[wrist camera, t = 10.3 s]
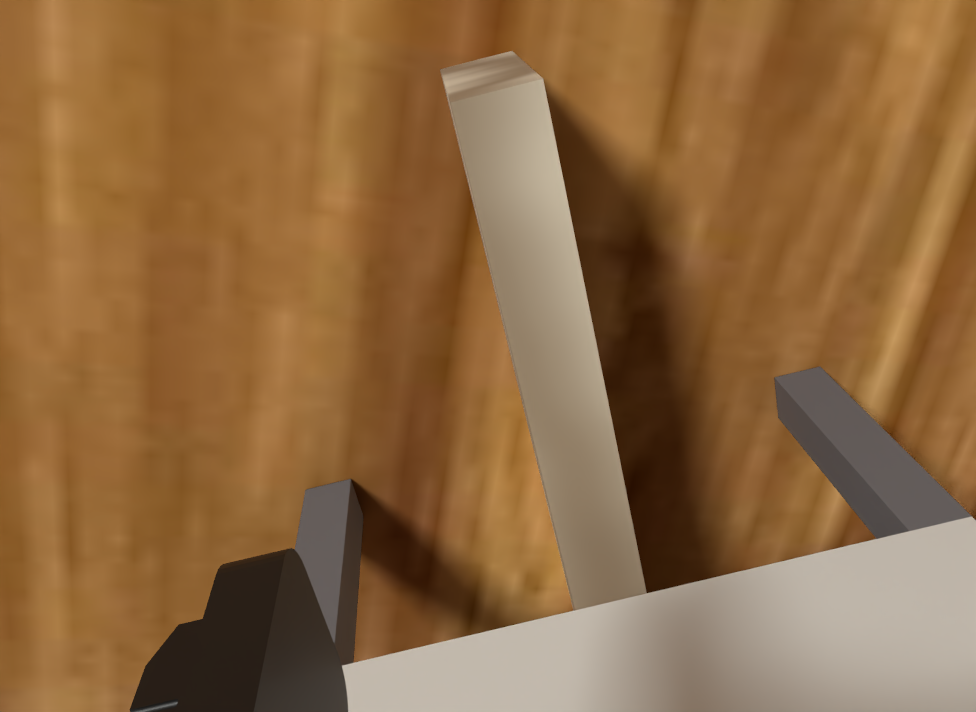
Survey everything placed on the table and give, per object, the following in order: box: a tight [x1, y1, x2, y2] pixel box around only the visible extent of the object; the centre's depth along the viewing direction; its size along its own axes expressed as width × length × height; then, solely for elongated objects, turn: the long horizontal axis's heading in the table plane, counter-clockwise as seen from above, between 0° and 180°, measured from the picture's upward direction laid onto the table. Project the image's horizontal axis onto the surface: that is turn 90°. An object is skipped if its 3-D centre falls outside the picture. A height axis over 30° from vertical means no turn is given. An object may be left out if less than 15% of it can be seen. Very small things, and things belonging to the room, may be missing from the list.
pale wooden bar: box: [440, 51, 647, 611], centre depth 27 cm, size 7×24×6 cm, turn 13°
